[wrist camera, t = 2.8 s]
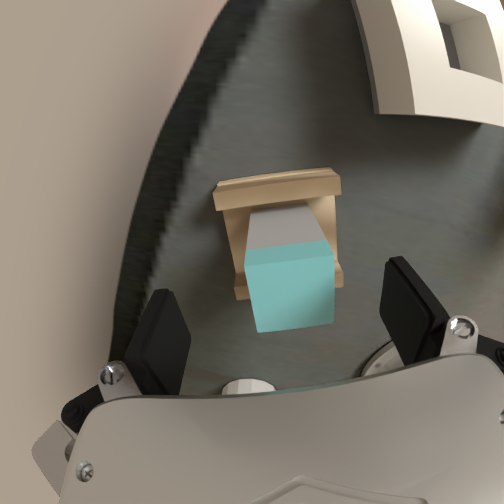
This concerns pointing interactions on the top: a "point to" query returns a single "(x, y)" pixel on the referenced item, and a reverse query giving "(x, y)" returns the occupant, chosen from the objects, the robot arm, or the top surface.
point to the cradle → (271, 195)
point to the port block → (435, 57)
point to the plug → (289, 269)
